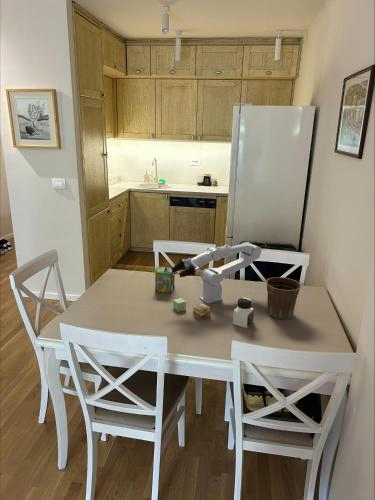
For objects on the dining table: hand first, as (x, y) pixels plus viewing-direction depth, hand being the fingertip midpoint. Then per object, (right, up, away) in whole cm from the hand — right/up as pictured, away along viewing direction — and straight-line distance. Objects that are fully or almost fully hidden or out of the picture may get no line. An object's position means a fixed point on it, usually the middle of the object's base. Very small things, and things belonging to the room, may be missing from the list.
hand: (175, 273), depth 175 cm
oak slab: (+12, -18, -2) cm, 22 cm away
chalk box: (-7, -11, +27) cm, 30 cm away
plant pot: (+51, -20, +3) cm, 55 cm away
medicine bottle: (+31, -23, -7) cm, 39 cm away
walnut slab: (+12, -21, -1) cm, 24 cm away
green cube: (+2, -18, +5) cm, 19 cm away
